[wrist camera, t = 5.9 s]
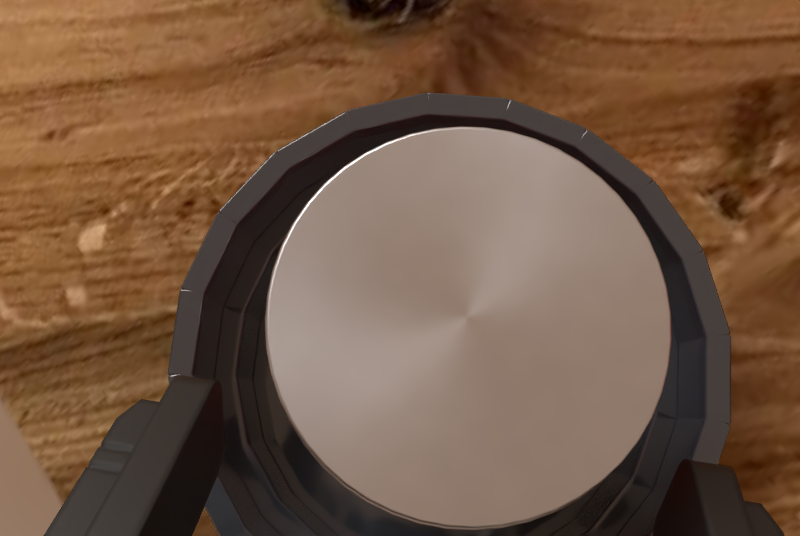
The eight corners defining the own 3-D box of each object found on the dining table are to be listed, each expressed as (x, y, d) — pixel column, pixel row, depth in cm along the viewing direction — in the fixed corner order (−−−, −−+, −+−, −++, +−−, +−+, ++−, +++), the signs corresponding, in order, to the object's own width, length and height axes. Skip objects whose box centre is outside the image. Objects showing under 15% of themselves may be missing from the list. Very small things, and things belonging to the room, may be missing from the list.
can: (405, 524, 20) (396, 619, 10) (294, 329, 21) (189, 248, 11) (596, 405, 21) (760, 388, 11) (477, 221, 22) (527, 55, 12)
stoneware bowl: (361, 707, 20) (347, 783, 16) (139, 292, 22) (76, 262, 18) (763, 448, 21) (849, 454, 17) (510, 79, 23) (531, 4, 19)
